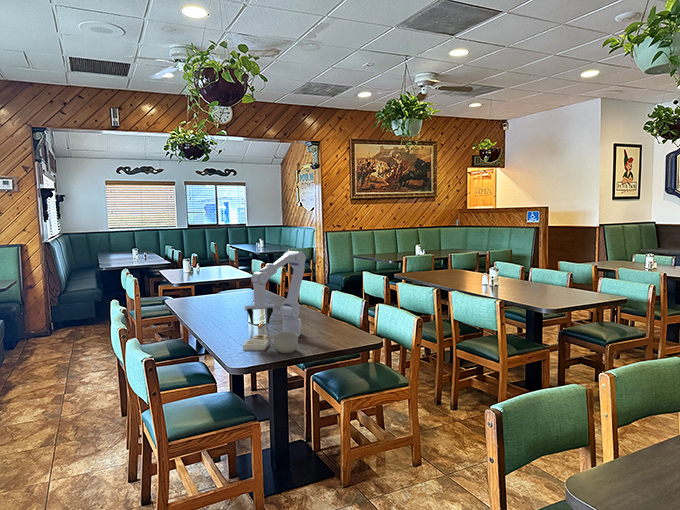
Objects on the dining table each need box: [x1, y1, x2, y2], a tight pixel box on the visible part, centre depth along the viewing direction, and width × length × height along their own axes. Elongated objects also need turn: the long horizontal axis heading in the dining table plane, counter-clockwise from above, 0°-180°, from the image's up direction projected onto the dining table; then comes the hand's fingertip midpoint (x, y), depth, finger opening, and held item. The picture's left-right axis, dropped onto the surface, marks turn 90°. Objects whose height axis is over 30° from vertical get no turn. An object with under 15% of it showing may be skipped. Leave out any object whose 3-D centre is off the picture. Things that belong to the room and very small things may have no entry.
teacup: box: [267, 331, 299, 354], centre depth 214 cm, size 14×11×8 cm
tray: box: [242, 338, 270, 351], centre depth 221 cm, size 10×10×2 cm
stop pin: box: [257, 323, 264, 337], centre depth 229 cm, size 2×2×9 cm
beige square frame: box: [252, 334, 269, 339], centre depth 229 cm, size 6×6×3 cm
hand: (260, 323), depth 229 cm, fingers open, 7 cm apart
